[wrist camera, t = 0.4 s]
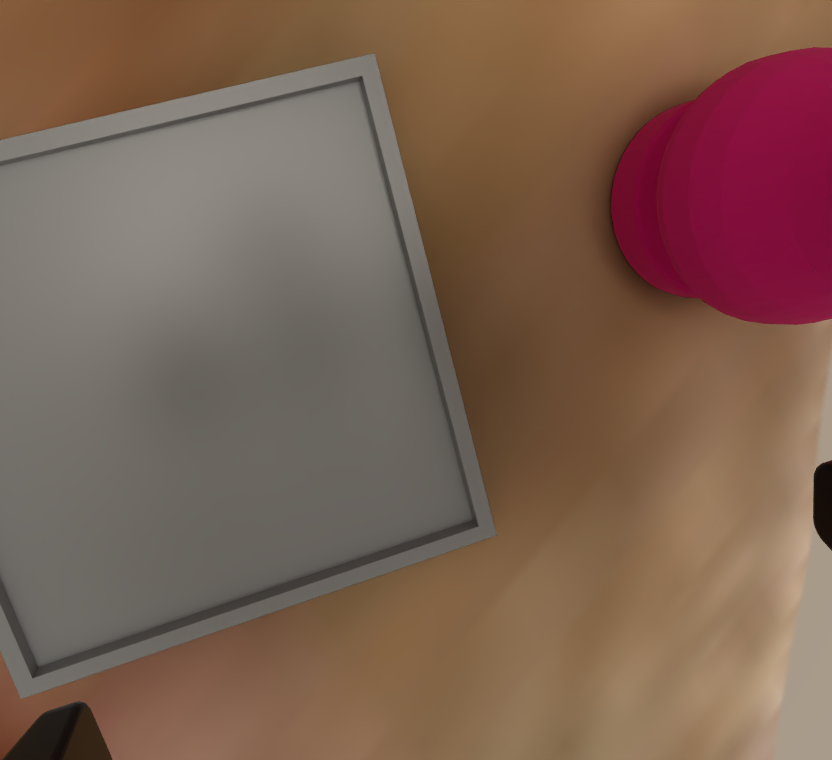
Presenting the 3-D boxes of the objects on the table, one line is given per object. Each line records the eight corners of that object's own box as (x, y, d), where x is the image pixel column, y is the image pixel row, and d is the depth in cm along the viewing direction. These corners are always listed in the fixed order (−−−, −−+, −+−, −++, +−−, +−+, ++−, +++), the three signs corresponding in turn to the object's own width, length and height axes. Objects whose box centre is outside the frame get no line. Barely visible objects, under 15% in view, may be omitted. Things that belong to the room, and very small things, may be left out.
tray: (487, 524, 25) (496, 535, 24) (31, 679, 23) (21, 699, 22) (369, 61, 22) (374, 52, 21) (-180, 190, 19) (-202, 187, 18)
